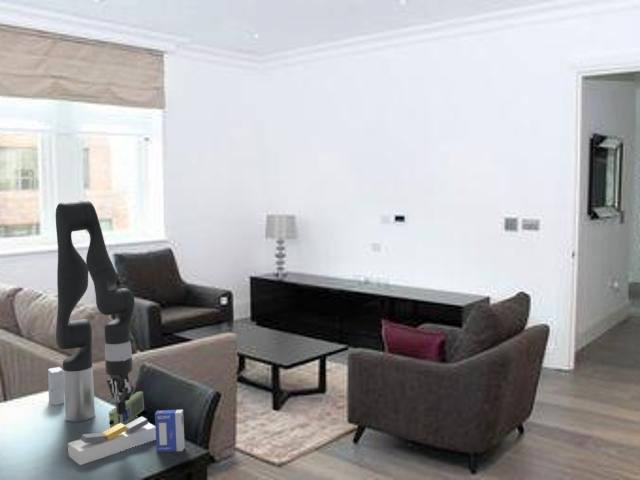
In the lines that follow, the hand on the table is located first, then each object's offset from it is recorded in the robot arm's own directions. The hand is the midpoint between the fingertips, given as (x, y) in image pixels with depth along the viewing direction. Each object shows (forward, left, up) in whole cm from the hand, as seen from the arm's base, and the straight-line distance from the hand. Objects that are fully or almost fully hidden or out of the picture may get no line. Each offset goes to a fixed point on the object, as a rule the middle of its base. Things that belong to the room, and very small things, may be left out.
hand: (121, 413), depth 186 cm
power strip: (-2, -2, -11) cm, 11 cm away
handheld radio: (-17, +9, -11) cm, 22 cm away
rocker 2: (0, +5, -7) cm, 8 cm away
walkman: (+12, +9, -11) cm, 18 cm away
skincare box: (-53, +1, -11) cm, 54 cm away
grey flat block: (0, -9, -7) cm, 11 cm away
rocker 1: (0, -2, -7) cm, 7 cm away
